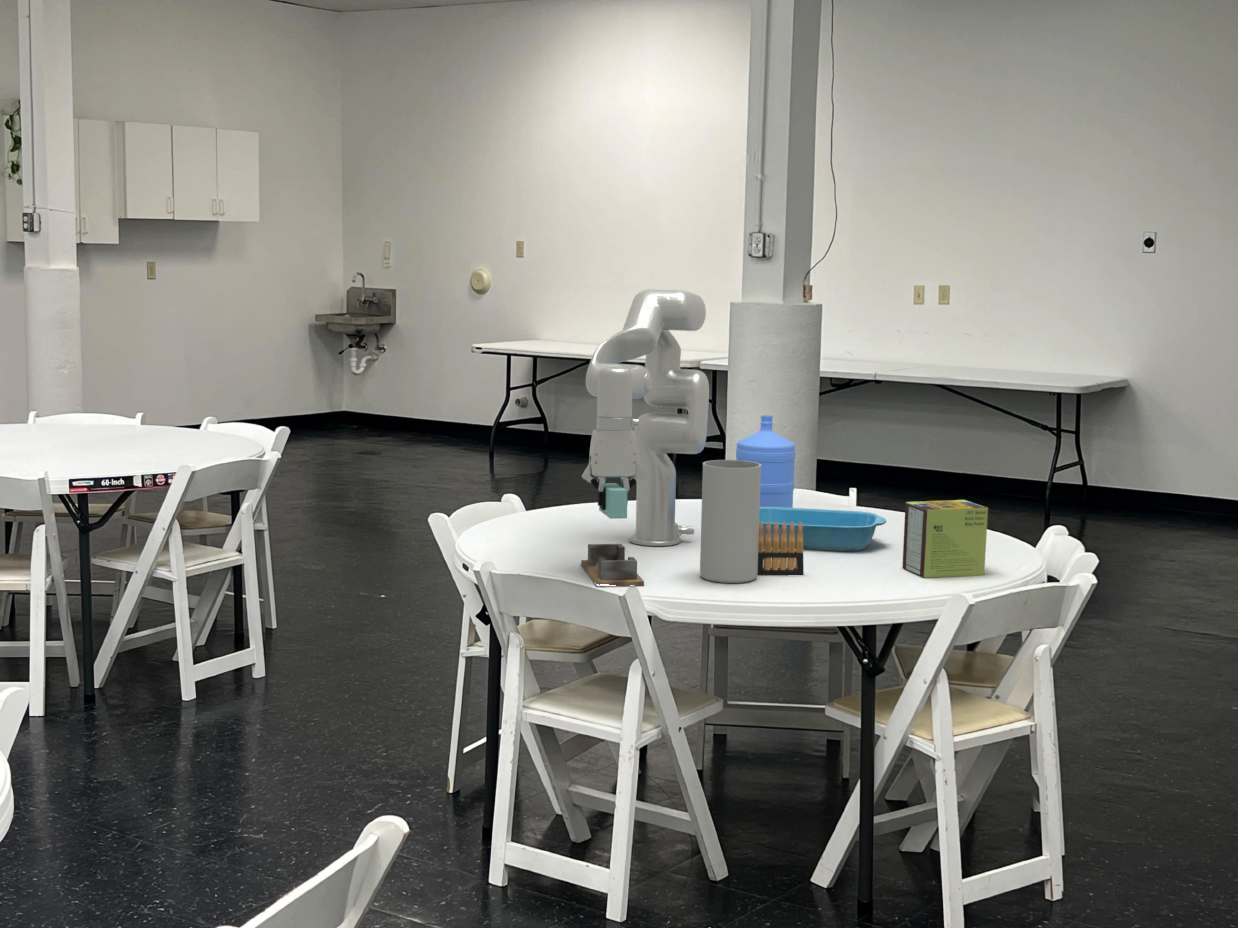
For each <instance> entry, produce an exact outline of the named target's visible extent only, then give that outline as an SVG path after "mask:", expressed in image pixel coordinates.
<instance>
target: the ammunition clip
mask: <svg viewBox="0 0 1238 928" xmlns="http://www.w3.org/2000/svg"><path fill="white" fill-rule="evenodd" d="M779 544H780V547H779ZM804 571H805V570H804V549H803V527H802V522H801V521H800V522H799V525H798V532H797V539H796V548H795V527H794V522H793V521H792V522H791V525H790V531H789V539H788V548H787V527H786V523H785V521H784V522H783V525H782V531H781V539H780V540H779V526H778V522H777V521H776V522H775V525H774V534H773V540H772V539H771V525H770V522H769V521H768V523H767V526H766V534H765V540H764V538H763V524H762V521H760V523H759V544H758V573H757V576H788V575H803V576H804V575H805V574H804V573H805V572H804Z"/></svg>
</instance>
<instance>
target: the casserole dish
mask: <svg viewBox="0 0 1238 928" xmlns="http://www.w3.org/2000/svg"><path fill="white" fill-rule="evenodd" d="M760 521H762V524H763V538H764V540H765V534H766V526H767V523H768V521H769V522H770V525H771V539H772V540H773V534H774V525H775V522H776V521H777V522H778V526H779V540H780V539H781V531H782V525H783V522H784V521H785V523H786V527H787V549H788V539H789V531H790V525H791V522H792V521H793V522H794V527H795V549H796V539H797V532H798V525H799V522H800V521H801V522H802V527H803V550H805V549H806V550H819V551H833V552H837V551H838V552H858V551H862V550H864V549H865V548H867V546H869V544H870V543H871V541H872V539H873V538H874V535H875V532H876V528H877V527H879V526H883V525H885V524H886V523H887V519H886V518H885V517H883V516H880V515H878V514H876V513H873V512H869V511H868V512H867V511H858V510H857V511H856V510H838V509H822V508H821V509H820V508H804V507H793V508H786V507H760V514H759V523H760ZM779 548H780V544H779Z"/></svg>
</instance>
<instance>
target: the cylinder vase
mask: <svg viewBox="0 0 1238 928" xmlns="http://www.w3.org/2000/svg"><path fill="white" fill-rule="evenodd" d="M760 485H761V464H759V463H756V462H750V461H741V460H736V459H716V460H714V459H713V460H707V461H704V462H702V490H701V520H700V522H701V523H700V554H699V555H700V557H699V559H700V560H699V575H700V576H701V578H702V579H704V580H706V581H710V582H713V583H720V584H721V583H722V584H744V583H749V581H750V582H752V581H754V580H756V579H757V578H758V575H757V573H758V544H759V514H760Z"/></svg>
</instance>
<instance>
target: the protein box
mask: <svg viewBox="0 0 1238 928" xmlns="http://www.w3.org/2000/svg"><path fill="white" fill-rule="evenodd" d="M904 506H905V507H904V523H903V524H904V526H903V529H904V530H903V546H902V547H903V548H902V549H903V551H902V570H905V571H907V572H910V573H912V574H914V575H916V576H918V577H920V578H923V579H930V578H932V579H933V578H953V577H954V578H955V577H956V578H957V577H972V576H973V577H975V576H976V577H977V576H984V575H985V570H986V569H985V567H986V553H987V552H986V548H987V547H986V546H987V534H988V533H987V530H988V517H989V515H988V513H989V507H988V506H986V505H985V506H984V505H981V504H978V503H975V502H973V501H969V500H966V499H956V500H955V499H954V500H948V499H947V500H926V501H922V500H921V501H905V505H904Z"/></svg>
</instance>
